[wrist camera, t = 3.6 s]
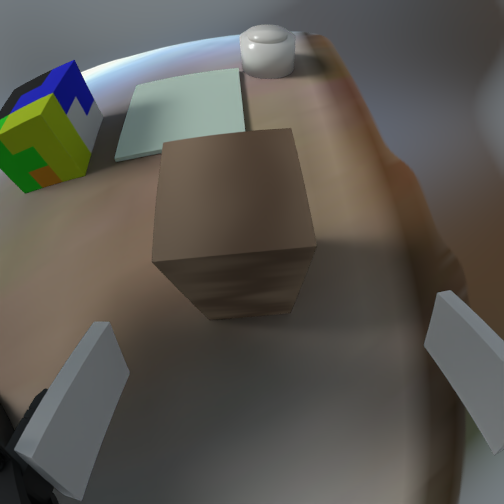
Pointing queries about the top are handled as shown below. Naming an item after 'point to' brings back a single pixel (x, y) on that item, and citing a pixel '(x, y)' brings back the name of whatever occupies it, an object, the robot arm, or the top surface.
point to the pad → (181, 111)
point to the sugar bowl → (267, 51)
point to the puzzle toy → (48, 129)
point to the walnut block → (234, 222)
